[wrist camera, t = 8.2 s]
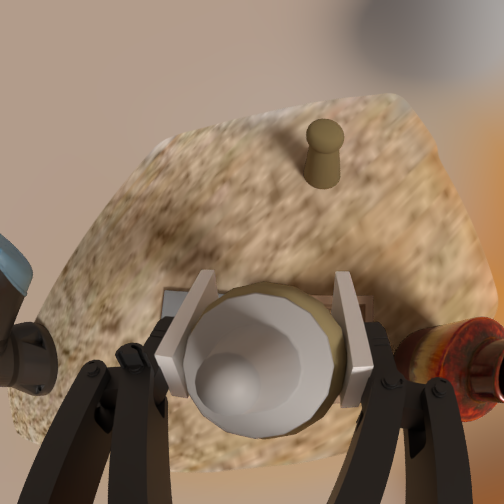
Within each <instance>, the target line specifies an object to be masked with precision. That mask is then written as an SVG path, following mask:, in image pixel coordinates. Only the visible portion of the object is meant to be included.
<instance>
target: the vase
mask: <svg viewBox="0 0 504 504" xmlns="http://www.w3.org/2000/svg"><path fill="white" fill-rule="evenodd" d="M394 360H395V364H396V367H397V370H398V371H399V372H400V373H401V374H403V375H404V377H405V379H406V380H408V381H411V382H415V383H422V384H426V383H427V381H429V380H430V379H431V378H435V377H442V378H444V379H447V380H448V381H449V382H450V383H451V384H452V386H453V388H454V391H455V395H456V399H457V403H458V407H459V411H460V416H461V420H462V422H470V421H474V420H477V419H479V418H481V417H483V416H484V415H486V414H487V413H488V412H489V411H491V410H492V409H493V408H494V407H495V406H496V404H497V403H504V328H503V326H502V325H500V324H499V323H498V322H497V321H495V320H494V319H491V318H488V317H475V318H471V319H466V320H462V321H458V322H453V323H449V324H444V325H440V326H435V327H430V328H426V329H421V330H418V331H416V332H414V333H412V334H410V335H409V336H408V337H406V338H405V339H404V340H403V341H402V343H401V344H400V345H399V347H398V348H397V350H396V352H395V354H394Z"/></svg>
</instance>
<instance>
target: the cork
mask: <svg viewBox="0 0 504 504" xmlns="http://www.w3.org/2000/svg"><path fill="white" fill-rule="evenodd" d="M306 139H307V142H308V144H309V150H308V154H307V159H306V163H305V168H304V177H305V180H306V181H307V182H308V184H310V185H311V186H313V187H315V188H318V189H329V188H332V187H334V186H335V185H336V184H337V183H338V182H339V179H340V157H339V149H340V148H341V146H342V144H343V141H344V133H343V130H342V128H341V127H340V125H338V124H337V123H336V122H334V121H333V120H329V119H318V120H316V121H314V122H312V123H311V124H310V125H309V127H308V129H307V131H306Z"/></svg>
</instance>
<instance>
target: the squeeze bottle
mask: <svg viewBox="0 0 504 504" xmlns="http://www.w3.org/2000/svg"><path fill="white" fill-rule="evenodd" d="M182 366H183V371H184V377H185V382H186V387H187V392H188V394H189V395H190V397H191V398H192V400H193V401H194V403H195V404H196V406H197V408H198V409H199V411H200V412H201V414H202V415H203V416H204V417H206V418H207V419H208V420H210V421H211V422H213V423H214V424H215V425H217V426H218V427H220V428H221V429H223V430H224V431H226V432H228V433H232V434H236V435H240V436H245V437H249V438H254V439H258V438H259V439H270V438H277V437H283V436H288V435H293V434H297V433H298V432H300V431H302V430H303V429H305V428H307V427H308V426H310V425H312V424H313V423H315V422H316V421H318V420H319V419H321V418H322V417H324V415H325V414H326V413H327V411H328V410H329V408H330V407H331V406H332V404H333V403H334V401H335V400H336V398H337V397H338V396H339V394H340V393H341V391H342V388H343V383H344V378H345V373H346V366H347V351H346V347H345V342H344V338H343V334H342V329H341V327H340V326H339V325H338V323H337V322H336V320H335V319H334V318H333V316H332V315H331V314H330V312H329V311H328V309H327V308H326V307H325V305H324V304H323V303H322V302H320V301H319V300H317V299H315V298H314V297H312V296H310V295H309V294H307V293H305V292H304V291H302V290H300V289H299V288H297V287H295V286H289V285H283V284H276V283H270V282H260V283H255V284H251V285H246V286H242V287H237V288H233V289H232V290H230V291H229V292H227V293H226V294H224V295H223V296H221V297H220V298H218V299H217V300H215V301H214V302H212V303H211V304H210V305H208V306H207V308H206V309H205V311H204V312H203V314H202V315H201V317H200V318H199V319H198V321H197V322H196V324H195V325H194V327H193V328H192V330H191V333H190V335H189V337H188V340H187V344H186V349H185V354H184V359H183V364H182Z"/></svg>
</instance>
